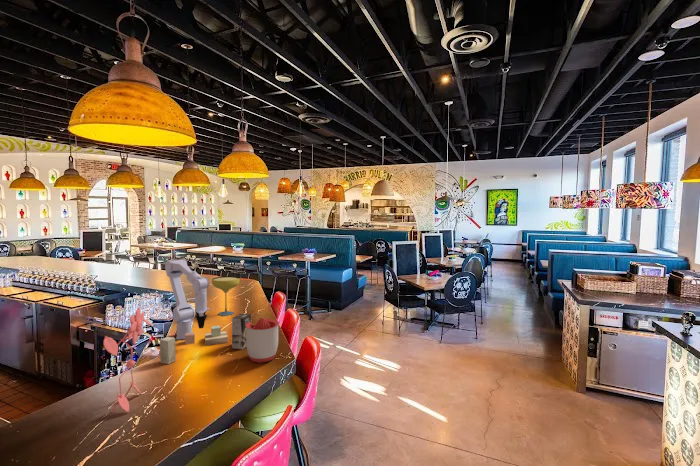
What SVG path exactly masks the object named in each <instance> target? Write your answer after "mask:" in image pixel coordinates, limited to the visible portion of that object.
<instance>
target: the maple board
mask: <svg viewBox="0 0 700 466" xmlns="http://www.w3.org/2000/svg"><path fill="white" fill-rule="evenodd" d="M204 343H205V345H206V346H212V344H213V345H219V344H226V343H228V332H227V331H226V330H222V331H221V336H217V337H212V336H211V332H205V333H204Z"/></svg>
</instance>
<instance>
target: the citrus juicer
mask: <svg viewBox="0 0 700 466" xmlns="http://www.w3.org/2000/svg"><path fill="white" fill-rule="evenodd" d="M279 324H280V322H279V321H278V320H276V319H271V318H264V317H261V318H260V319H258V321H257V322H256V324H253V323H252V321H251V322H248V323H247V324H246V351H247V354H248V357H249V359H250V361H251V362H254V363H258V364H260V363H261V364H262V363H266V362H270V361H272V360H274V358H275V357H276V355H277V350H278V347H279Z"/></svg>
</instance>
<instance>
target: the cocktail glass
mask: <svg viewBox="0 0 700 466" xmlns="http://www.w3.org/2000/svg"><path fill="white" fill-rule="evenodd" d="M211 284H212V286H213V287H214V288H216V289H219V290H221V291H222V292H223V293H224V294H225V302H224V303H225V305H224V307H225V309H224V311H221V312H218V313H219V315H222V316H221V317H228V315H230V316H233V315H234V314H235V312H234V311H231V310H229V311H228V308H227V293H228V292H230V290H233V288H235V287H237V286H238V285H239V284H240V277H238V276H234V275H233V276H232V275H231V276H230V275H227V276H225V275H224V276H217V277H213V278H212V279H211ZM232 314H233V315H232ZM219 315H218V316H219Z"/></svg>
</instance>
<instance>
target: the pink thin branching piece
mask: <svg viewBox="0 0 700 466" xmlns="http://www.w3.org/2000/svg"><path fill="white" fill-rule="evenodd" d="M129 322H130V327H129V329H128V330H127V332H126V333H125V334H124V336H123V338H121V339H120V341H119V342H117V341H116V340H114V338H112V337H109V336H107V335H106V336H104V339H103V347H104V349H105V351H107V353H109V354H110V355H112V356H115V357H116V356H117V355H118V352H119V346H120V344H121V343H124V344H125V345H126V346H127V347H129V348H130V358H131V359H130V360H128V361H127V362H126V365H125V366H126V370H125V371H124V372H123V373H122V374H121V375H120V376H119V377H118V383H119V385H118V386H119V393H118V394H117V397H116V399H117V400H116V402H115V404H114V406H113V408H112V410H111V413H113V412H114V411H115V409H116V407H117V406H118V405H119V407H120V409H122V410H123V411H125V412H126V413H128V412H129V413H130V403H129V400H128V398H127V396H128V394H129V392H130V391H131V389H132V388H133V389H134V390H135V391H136V392H137V393H139V394H140V395H142V394H143V393H142V392H141V391H140V389H139V388H138V387H137V386H136V385H135V382H134V376H133V367H134V366H135V365H136V361H135V360H134V359H133V357H134V356H133V349H134V348H133V347H132V346H131V345H130V344H129V343H127V341H131V339H132V345H135V344H136V342H137V341H138V340H139V336H141V335H142V334H143V332H144V329H143V323H146V324H147V325H149V326H153V325H152V323H150V322H149V321H148V320H147V319H146V318H145V312H144V311H142V312H141V308H140V307H137V310H135V312H134V314H131V315H130V317H129ZM126 340H127V341H126ZM129 369H130V374H131V381H130V382H129V383H130V385H129V388H128V390H127V391H126V393H125V395H124V394H123V393H122V383H121V378H123V376H124V375H125V373H127V371H128V370H129Z"/></svg>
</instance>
